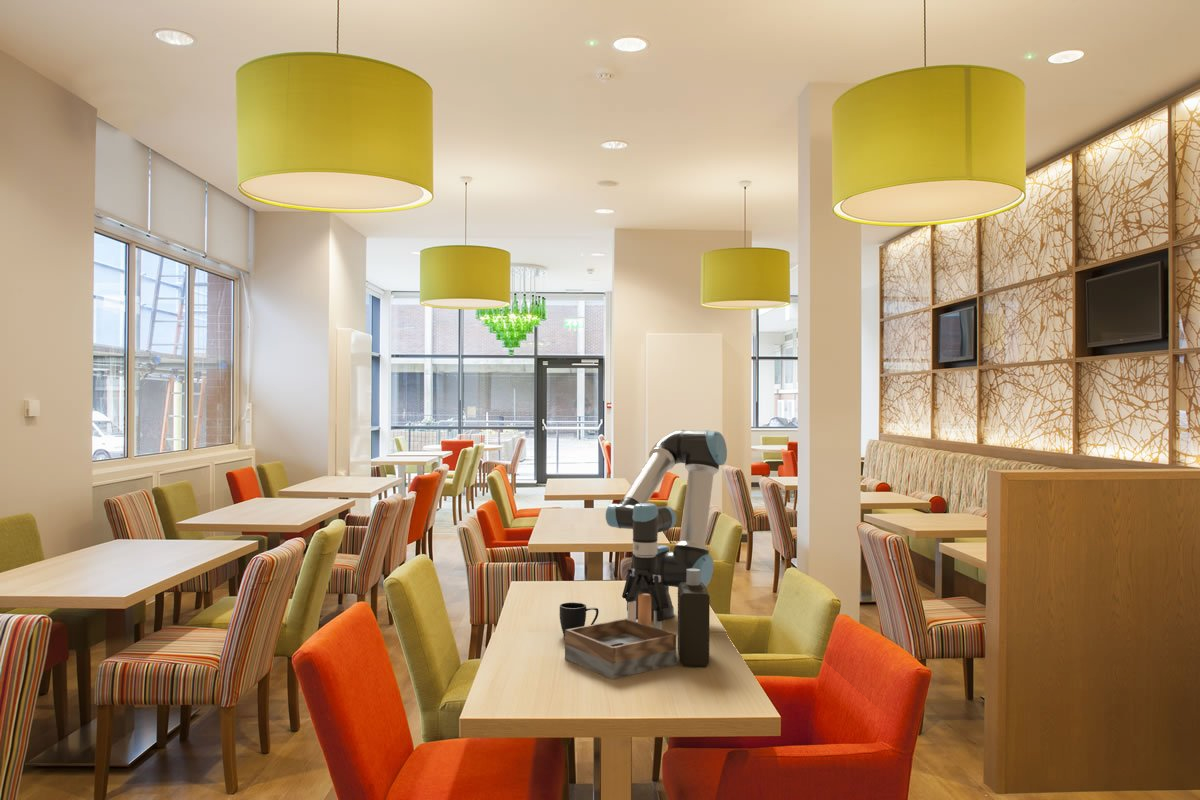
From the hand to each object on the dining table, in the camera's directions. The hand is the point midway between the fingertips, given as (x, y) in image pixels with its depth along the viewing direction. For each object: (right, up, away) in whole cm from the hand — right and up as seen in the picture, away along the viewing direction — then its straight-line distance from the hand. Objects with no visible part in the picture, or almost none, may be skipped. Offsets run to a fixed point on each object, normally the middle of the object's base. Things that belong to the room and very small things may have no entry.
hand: (644, 627), depth 248 cm
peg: (0, -4, 0) cm, 4 cm away
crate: (-8, -4, -20) cm, 22 cm away
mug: (-20, -4, +5) cm, 21 cm away
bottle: (+13, -4, -17) cm, 22 cm away
